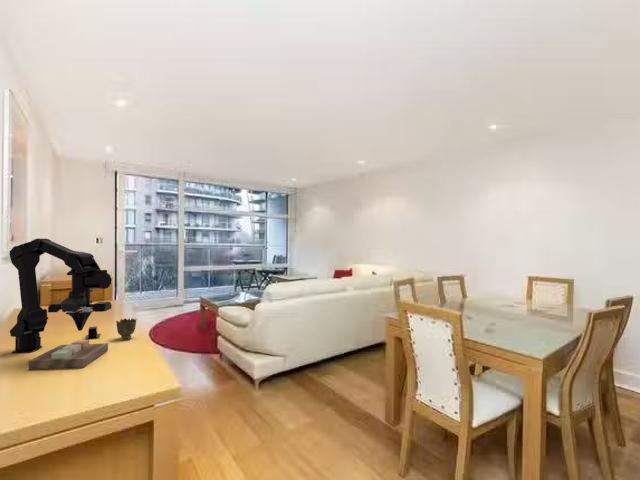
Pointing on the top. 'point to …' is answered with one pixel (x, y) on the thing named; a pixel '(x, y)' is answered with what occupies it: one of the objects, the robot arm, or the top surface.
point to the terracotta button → (83, 343)
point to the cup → (126, 328)
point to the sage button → (61, 354)
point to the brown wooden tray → (73, 361)
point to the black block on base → (92, 334)
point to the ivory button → (73, 347)
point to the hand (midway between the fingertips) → (80, 330)
